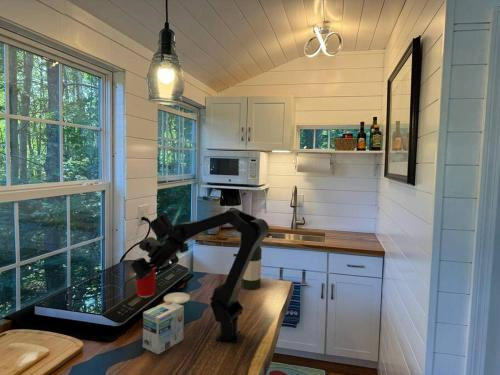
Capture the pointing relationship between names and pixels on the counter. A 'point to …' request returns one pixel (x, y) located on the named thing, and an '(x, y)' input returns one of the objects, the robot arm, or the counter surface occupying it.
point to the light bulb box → (163, 326)
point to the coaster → (177, 298)
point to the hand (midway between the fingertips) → (143, 276)
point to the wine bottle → (253, 272)
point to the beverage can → (146, 285)
